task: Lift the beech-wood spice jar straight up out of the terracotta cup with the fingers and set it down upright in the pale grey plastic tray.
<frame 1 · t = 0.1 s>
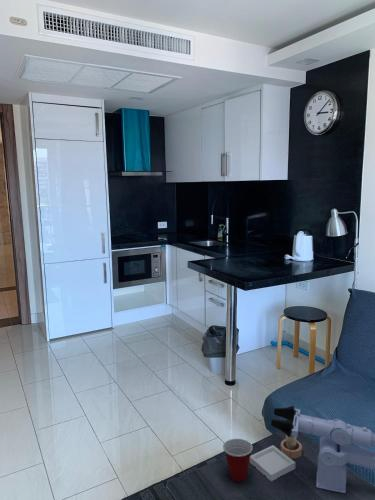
hand: (272, 416, 137), 22 cm above the table, tool horizontal, fingers open, 7 cm apart
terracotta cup: (291, 451, 150), on the table
plastic cup: (238, 476, 138), on the table
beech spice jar: (291, 441, 150), in the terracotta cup
grey tray: (272, 465, 143), on the table
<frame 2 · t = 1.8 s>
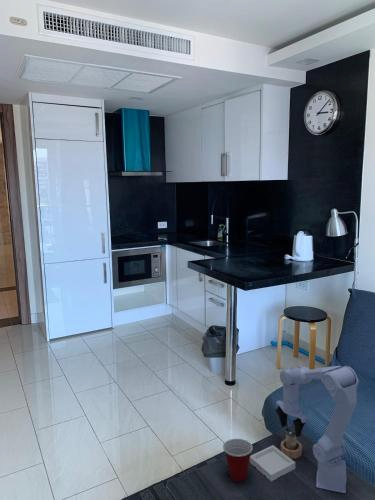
hand: (291, 430, 149), 9 cm above the table, tool pointing down, fingers open, 7 cm apart
nothing on the table moved.
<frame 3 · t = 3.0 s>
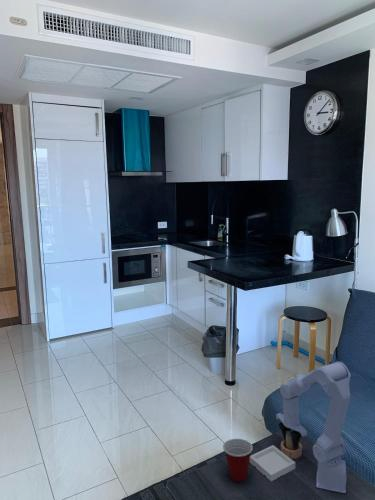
hand: (291, 443, 150), 3 cm above the table, tool pointing down, fingers closed on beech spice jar, 4 cm apart
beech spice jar: (291, 441, 150), in the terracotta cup, touching gripper
everything else where it was.
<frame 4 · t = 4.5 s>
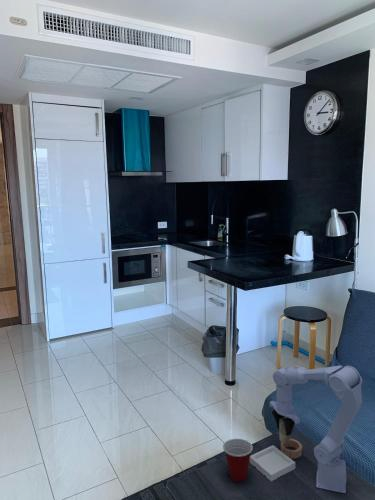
hand: (284, 431, 146), 10 cm above the table, tool pointing down, fingers closed on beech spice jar, 4 cm apart
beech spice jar: (284, 429, 146), point 11 cm above the table, touching gripper
everything else where it was.
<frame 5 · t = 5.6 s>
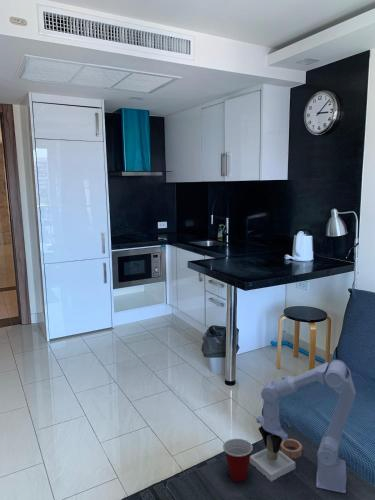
hand: (271, 448, 142), 7 cm above the table, tool pointing down, fingers closed on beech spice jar, 4 cm apart
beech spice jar: (272, 445, 142), point 8 cm above the table, touching gripper
everything else where it was.
when the fingers open (6 cm above the table, at t = 6.2 s): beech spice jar drops 1 cm, resting on grey tray.
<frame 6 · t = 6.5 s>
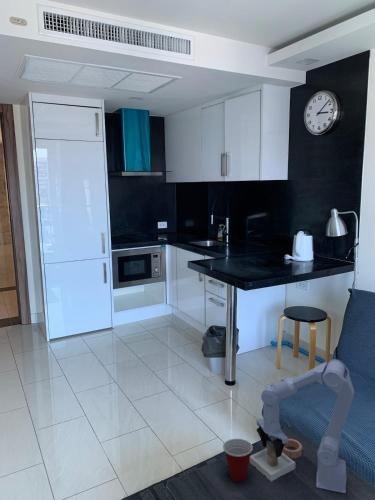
hand: (271, 451, 142), 6 cm above the table, tool pointing down, fingers open, 6 cm apart
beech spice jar: (272, 451, 142), in the grey tray, point 6 cm above the table
everything else where it was.
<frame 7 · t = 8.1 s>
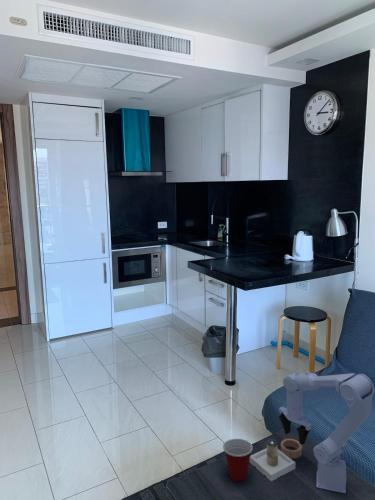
hand: (294, 438, 144), 9 cm above the table, tool pointing down, fingers open, 7 cm apart
nothing on the table moved.
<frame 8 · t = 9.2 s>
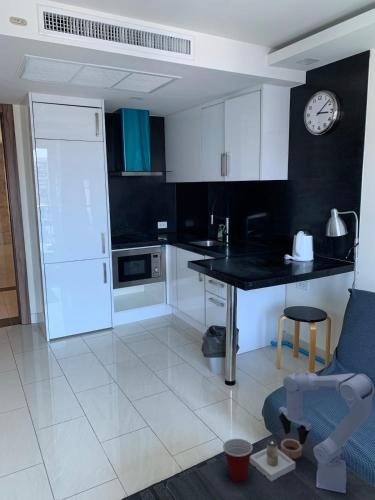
hand: (294, 438, 144), 9 cm above the table, tool pointing down, fingers open, 7 cm apart
nothing on the table moved.
at the end: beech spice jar 0.1 cm off-centre on the grey tray, point 5.5 cm above the grey tray's base; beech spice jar tilted 0°; the gripper is holding nothing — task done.
